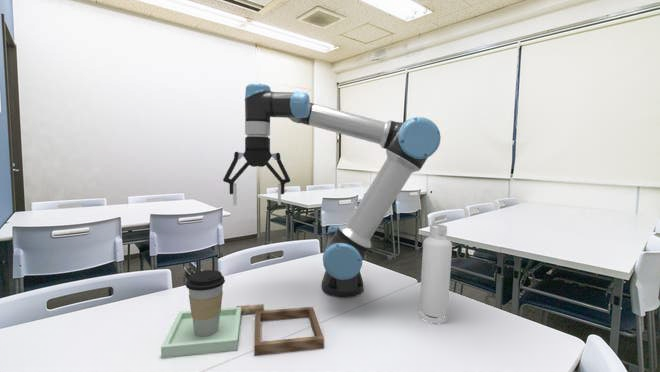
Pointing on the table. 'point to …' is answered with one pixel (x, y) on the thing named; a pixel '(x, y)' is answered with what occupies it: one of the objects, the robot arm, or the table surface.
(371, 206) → the robot arm
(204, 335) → the coffee cup
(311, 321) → the walnut frame
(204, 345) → the sage tray
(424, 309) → the bottle
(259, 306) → the birch dowel
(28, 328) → the table surface
